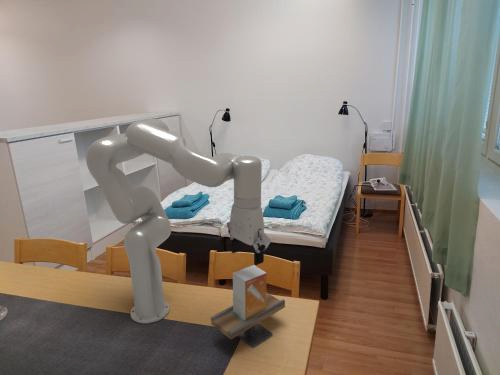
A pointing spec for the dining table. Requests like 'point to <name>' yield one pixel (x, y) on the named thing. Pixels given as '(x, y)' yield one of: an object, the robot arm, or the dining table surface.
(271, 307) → the brown flat channel
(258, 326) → the pivot stand
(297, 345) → the dining table surface
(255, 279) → the small box
